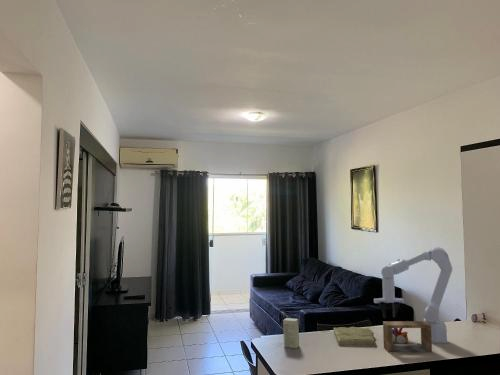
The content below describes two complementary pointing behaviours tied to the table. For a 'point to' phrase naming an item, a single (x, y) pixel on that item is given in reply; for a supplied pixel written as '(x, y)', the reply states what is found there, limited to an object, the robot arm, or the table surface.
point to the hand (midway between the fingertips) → (389, 317)
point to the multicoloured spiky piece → (399, 336)
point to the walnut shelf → (407, 348)
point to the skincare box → (291, 332)
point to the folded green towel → (354, 336)
